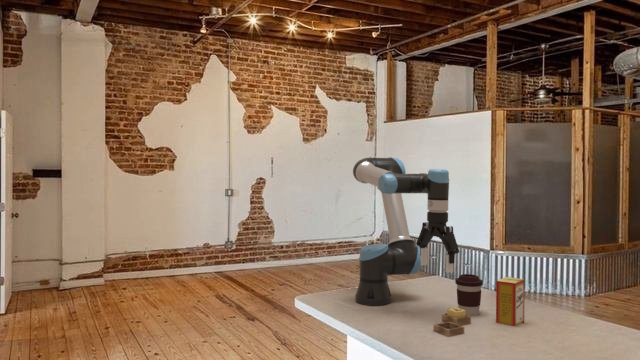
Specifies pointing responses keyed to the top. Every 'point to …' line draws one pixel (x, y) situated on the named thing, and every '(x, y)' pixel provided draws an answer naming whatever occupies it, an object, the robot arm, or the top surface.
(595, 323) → the top surface
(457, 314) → the letter cube
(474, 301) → the coffee cup
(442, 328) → the box
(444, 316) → the box
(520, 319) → the baking soda box
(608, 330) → the top surface
